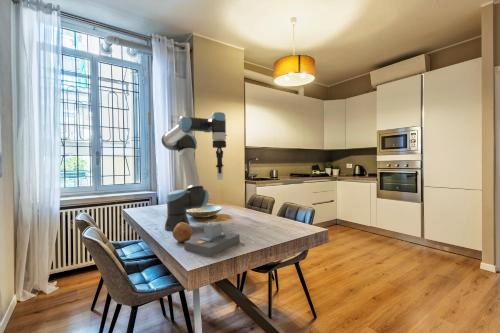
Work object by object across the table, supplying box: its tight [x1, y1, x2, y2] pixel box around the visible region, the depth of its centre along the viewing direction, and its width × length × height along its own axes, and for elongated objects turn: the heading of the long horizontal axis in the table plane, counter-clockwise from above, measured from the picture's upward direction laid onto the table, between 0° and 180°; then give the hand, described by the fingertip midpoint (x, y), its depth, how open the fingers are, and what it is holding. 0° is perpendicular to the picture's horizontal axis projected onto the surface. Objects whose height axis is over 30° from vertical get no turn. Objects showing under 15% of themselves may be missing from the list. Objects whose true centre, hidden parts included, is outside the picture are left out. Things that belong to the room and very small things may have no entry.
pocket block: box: [183, 230, 241, 258], centre depth 121 cm, size 22×16×5 cm
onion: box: [172, 222, 193, 243], centre depth 129 cm, size 10×10×10 cm
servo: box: [200, 221, 225, 243], centre depth 121 cm, size 13×5×12 cm, turn 146°
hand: (220, 178), depth 138 cm, fingers open, 13 cm apart
